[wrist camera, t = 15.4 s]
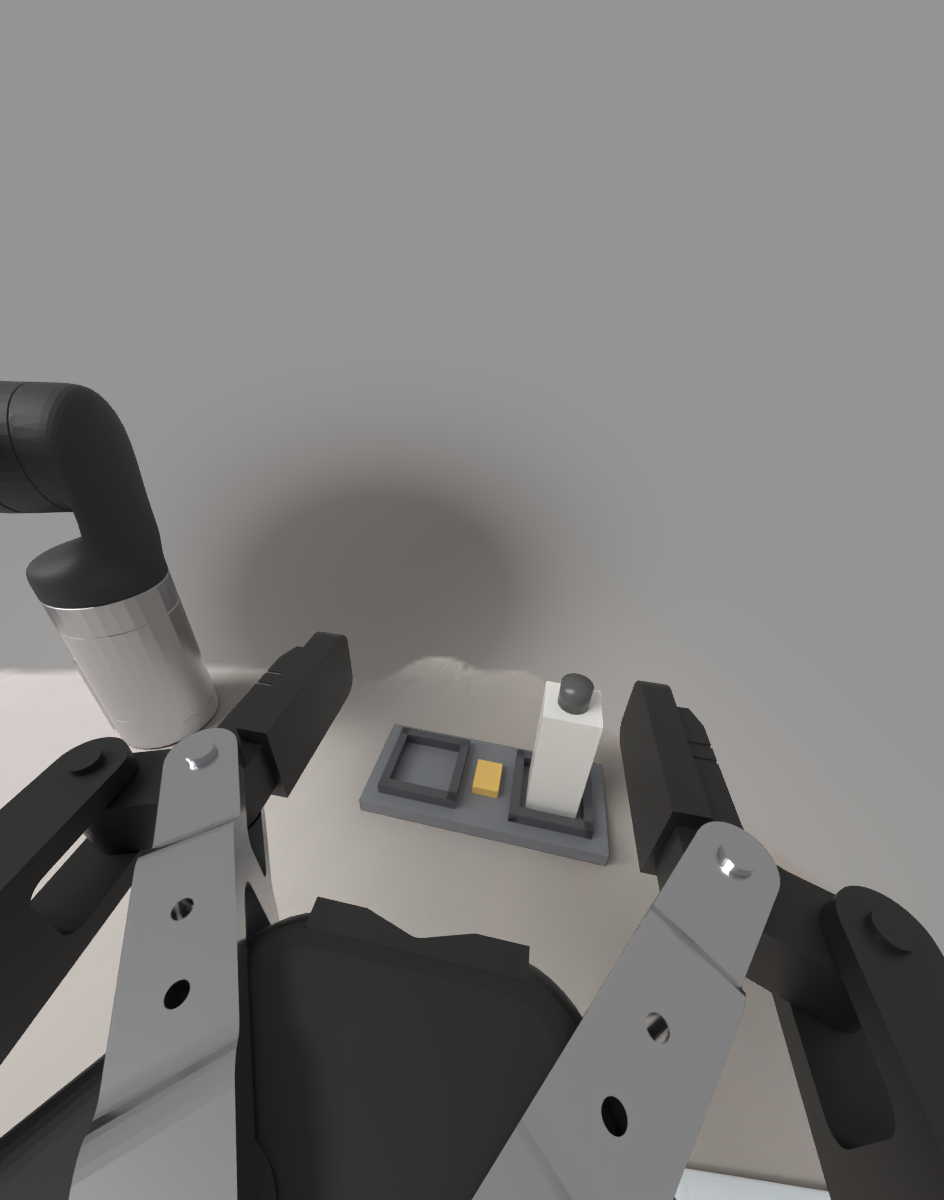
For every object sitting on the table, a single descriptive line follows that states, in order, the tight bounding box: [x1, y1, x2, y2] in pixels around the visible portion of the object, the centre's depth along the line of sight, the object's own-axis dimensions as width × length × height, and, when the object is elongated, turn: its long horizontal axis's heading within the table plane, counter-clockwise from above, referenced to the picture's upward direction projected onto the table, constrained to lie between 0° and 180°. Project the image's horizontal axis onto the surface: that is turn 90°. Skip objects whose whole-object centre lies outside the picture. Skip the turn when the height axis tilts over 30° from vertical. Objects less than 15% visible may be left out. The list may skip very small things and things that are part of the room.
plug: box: [525, 673, 603, 818], centre depth 35 cm, size 4×4×14 cm
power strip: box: [359, 724, 609, 866], centre depth 39 cm, size 22×9×3 cm, turn 79°
